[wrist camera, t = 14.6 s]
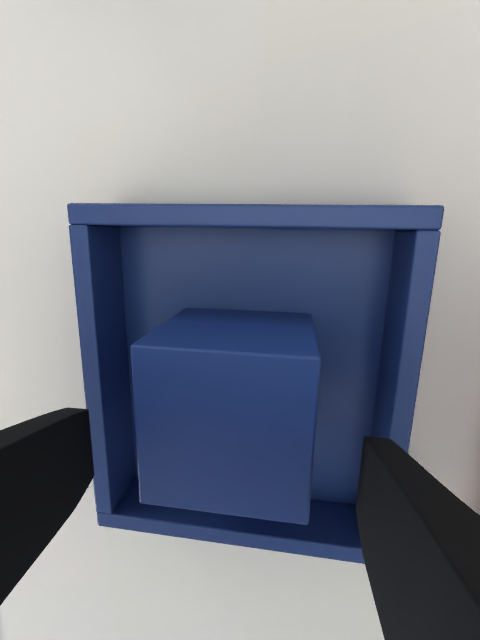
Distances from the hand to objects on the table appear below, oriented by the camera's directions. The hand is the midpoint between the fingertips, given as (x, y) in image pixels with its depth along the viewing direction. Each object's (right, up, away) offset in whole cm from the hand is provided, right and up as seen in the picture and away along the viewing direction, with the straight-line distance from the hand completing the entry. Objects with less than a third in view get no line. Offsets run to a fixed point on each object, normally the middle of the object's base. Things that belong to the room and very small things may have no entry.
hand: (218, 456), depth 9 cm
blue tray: (+1, +2, +4) cm, 5 cm away
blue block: (+1, +2, +4) cm, 4 cm away
